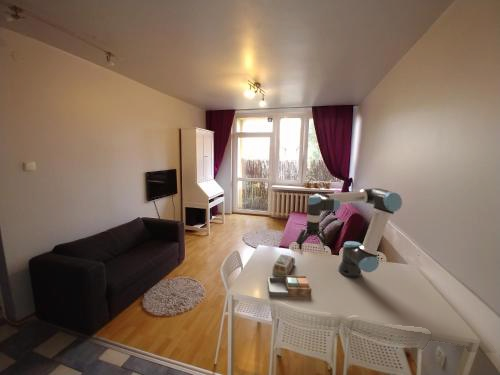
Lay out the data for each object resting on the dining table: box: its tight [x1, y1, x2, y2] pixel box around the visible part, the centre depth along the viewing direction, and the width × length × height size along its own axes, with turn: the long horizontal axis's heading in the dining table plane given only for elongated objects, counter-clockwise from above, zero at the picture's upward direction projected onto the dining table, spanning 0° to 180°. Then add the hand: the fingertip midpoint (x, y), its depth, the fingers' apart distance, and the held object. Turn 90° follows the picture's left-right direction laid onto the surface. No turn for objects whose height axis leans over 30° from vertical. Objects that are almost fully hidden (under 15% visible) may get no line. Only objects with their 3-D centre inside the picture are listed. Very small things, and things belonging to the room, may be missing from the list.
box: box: [267, 276, 289, 298], centre depth 142 cm, size 11×16×3 cm
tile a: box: [297, 277, 310, 286], centre depth 142 cm, size 6×6×2 cm
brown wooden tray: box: [284, 275, 312, 297], centre depth 142 cm, size 14×14×5 cm
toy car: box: [272, 254, 296, 278], centre depth 164 cm, size 11×25×10 cm, turn 155°
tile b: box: [287, 277, 298, 286], centre depth 142 cm, size 6×6×2 cm
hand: (311, 253), depth 141 cm, fingers open, 13 cm apart
